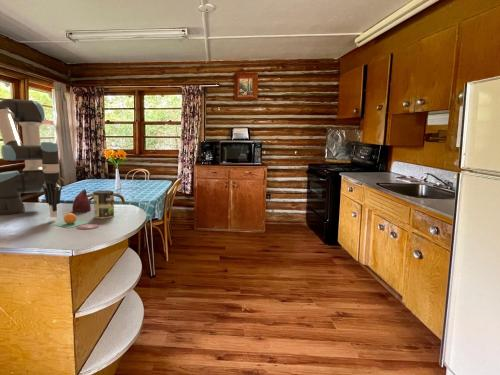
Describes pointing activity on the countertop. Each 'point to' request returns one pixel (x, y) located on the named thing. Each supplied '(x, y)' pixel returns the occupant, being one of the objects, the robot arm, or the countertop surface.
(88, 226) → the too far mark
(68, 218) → the ball
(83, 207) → the vegetable
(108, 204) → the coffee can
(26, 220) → the countertop surface
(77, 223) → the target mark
